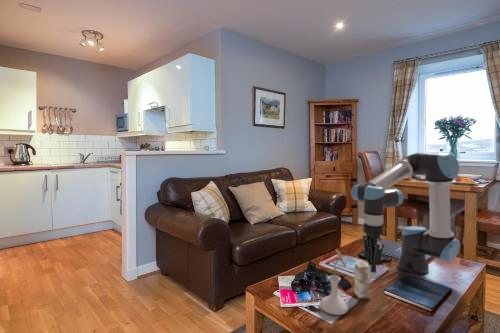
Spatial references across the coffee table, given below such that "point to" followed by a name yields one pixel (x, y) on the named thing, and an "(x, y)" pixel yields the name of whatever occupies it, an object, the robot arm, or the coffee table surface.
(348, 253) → the coffee table surface
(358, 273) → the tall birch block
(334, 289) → the flower in vase
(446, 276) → the coffee table surface
